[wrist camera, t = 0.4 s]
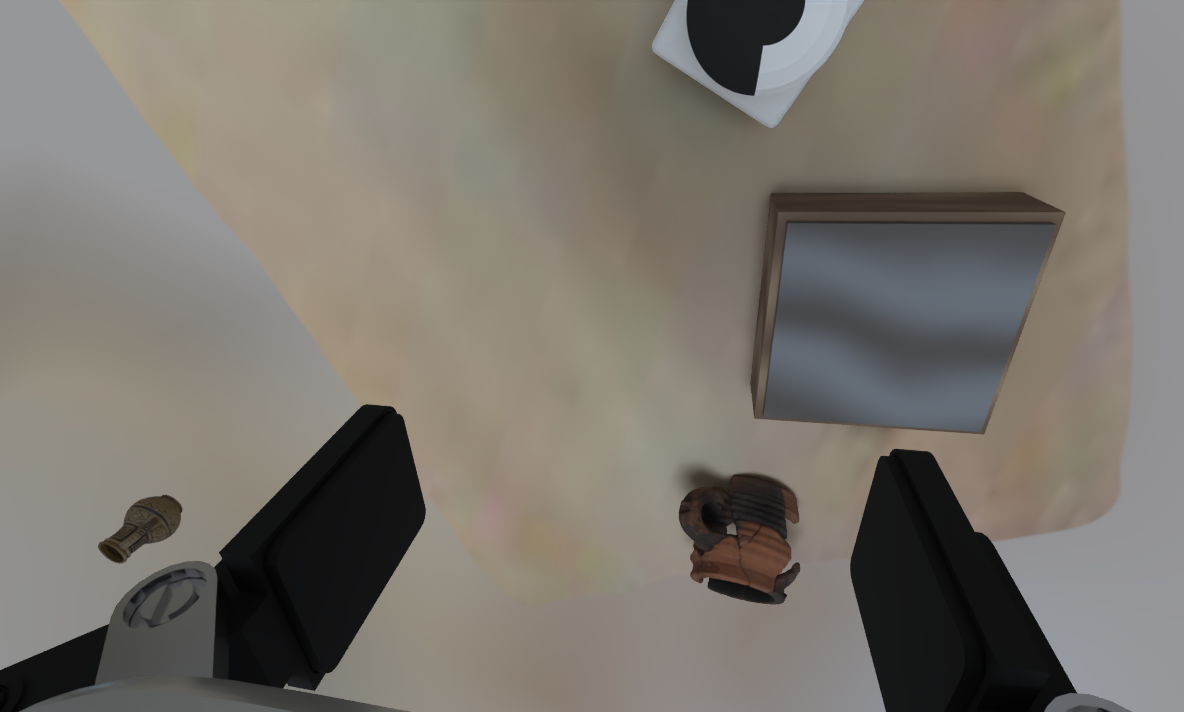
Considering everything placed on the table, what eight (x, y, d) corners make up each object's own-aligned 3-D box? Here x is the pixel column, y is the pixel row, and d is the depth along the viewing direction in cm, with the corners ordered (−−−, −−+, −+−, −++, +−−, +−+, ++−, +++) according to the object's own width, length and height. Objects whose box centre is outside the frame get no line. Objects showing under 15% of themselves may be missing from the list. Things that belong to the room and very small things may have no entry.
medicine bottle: (660, 49, 32) (635, 49, 22) (735, -90, 28) (748, -170, 18) (762, 116, 32) (785, 147, 22) (848, -11, 29) (924, -44, 19)
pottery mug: (830, 508, 45) (823, 613, 41) (745, 516, 53) (731, 605, 49) (726, 446, 41) (706, 556, 37) (650, 464, 49) (626, 557, 45)
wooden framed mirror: (770, 193, 34) (779, 214, 30) (1022, 192, 32) (1071, 214, 28) (750, 383, 41) (754, 422, 37) (956, 395, 39) (987, 439, 34)
